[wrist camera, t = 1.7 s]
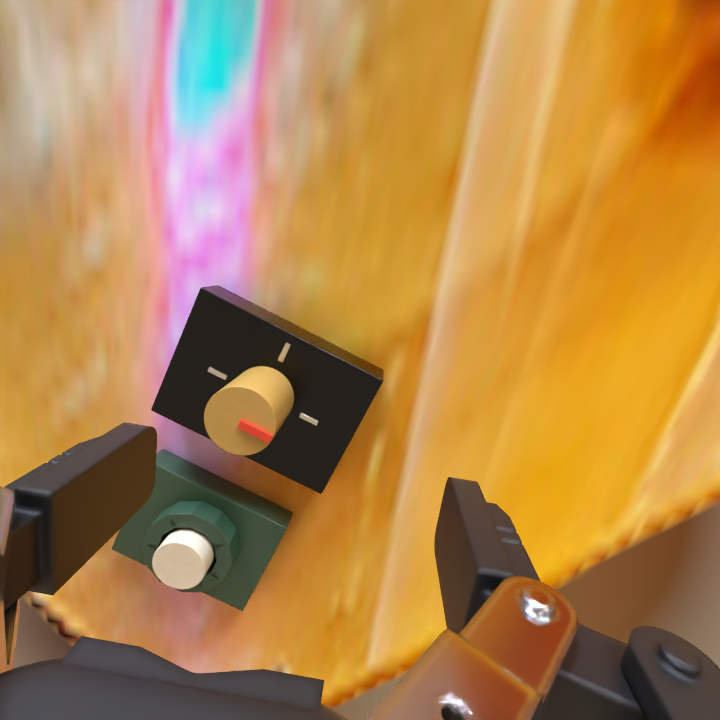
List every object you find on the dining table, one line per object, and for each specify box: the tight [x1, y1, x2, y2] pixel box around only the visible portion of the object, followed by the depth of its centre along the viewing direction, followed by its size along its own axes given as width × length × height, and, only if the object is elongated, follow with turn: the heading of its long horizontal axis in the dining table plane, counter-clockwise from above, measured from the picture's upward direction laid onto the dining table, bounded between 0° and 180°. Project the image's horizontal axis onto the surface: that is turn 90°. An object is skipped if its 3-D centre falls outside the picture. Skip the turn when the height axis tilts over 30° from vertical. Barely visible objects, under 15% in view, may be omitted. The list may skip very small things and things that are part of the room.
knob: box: [204, 366, 294, 456], centre depth 28 cm, size 4×4×5 cm
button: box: [152, 528, 214, 589], centre depth 32 cm, size 4×4×2 cm
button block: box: [112, 450, 293, 611], centre depth 34 cm, size 12×9×4 cm
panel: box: [151, 286, 383, 494], centre depth 32 cm, size 14×10×3 cm
